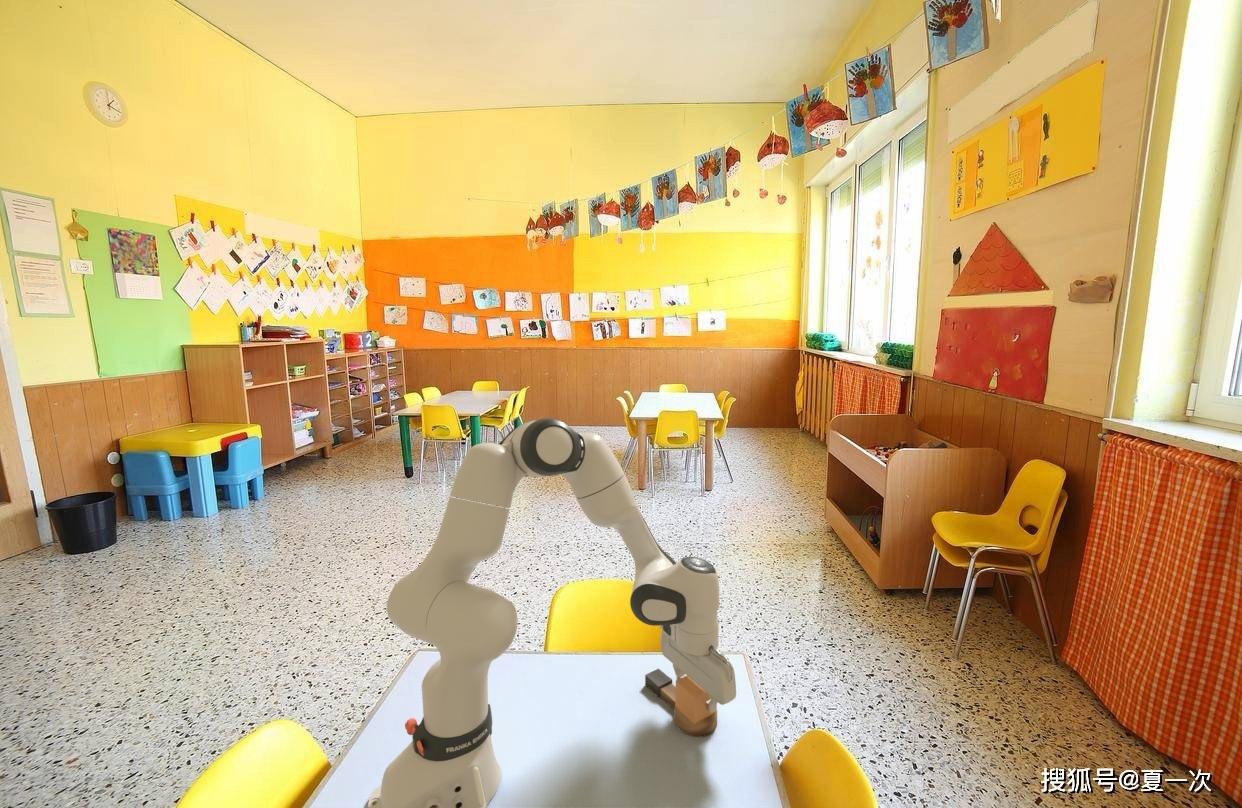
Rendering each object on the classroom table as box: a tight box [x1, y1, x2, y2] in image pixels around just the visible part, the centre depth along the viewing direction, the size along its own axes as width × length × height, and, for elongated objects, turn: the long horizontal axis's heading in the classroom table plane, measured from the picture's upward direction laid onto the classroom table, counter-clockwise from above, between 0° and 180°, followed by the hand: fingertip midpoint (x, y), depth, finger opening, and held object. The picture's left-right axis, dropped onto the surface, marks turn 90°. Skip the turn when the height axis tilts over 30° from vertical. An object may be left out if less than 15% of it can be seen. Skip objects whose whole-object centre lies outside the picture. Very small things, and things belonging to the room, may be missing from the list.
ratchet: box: [644, 668, 718, 738], centre depth 114 cm, size 9×20×6 cm, turn 35°
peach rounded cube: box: [675, 675, 716, 724], centre depth 110 cm, size 6×6×6 cm
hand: (695, 696), depth 110 cm, fingers open, 8 cm apart
